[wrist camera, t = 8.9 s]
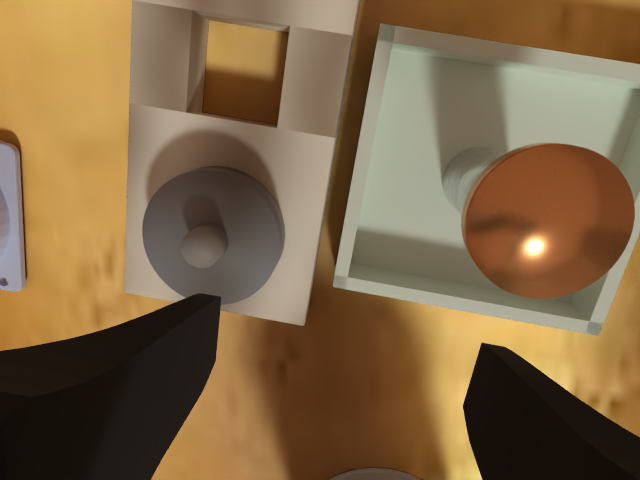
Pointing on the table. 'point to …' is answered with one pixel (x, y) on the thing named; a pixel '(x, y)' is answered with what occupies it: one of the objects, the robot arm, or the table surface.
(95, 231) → the table surface
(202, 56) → the white holder block
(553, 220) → the pin
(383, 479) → the grey cylinder
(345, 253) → the tray
